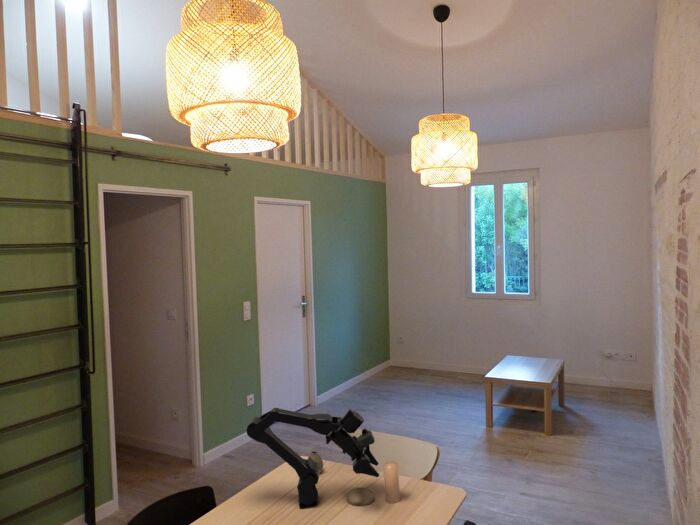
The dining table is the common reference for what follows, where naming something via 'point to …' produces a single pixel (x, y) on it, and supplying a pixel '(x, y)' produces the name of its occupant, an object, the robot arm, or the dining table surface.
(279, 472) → the dining table surface
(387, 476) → the tan tapered cylinder
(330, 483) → the dining table surface
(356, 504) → the stand
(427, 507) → the dining table surface
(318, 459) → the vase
